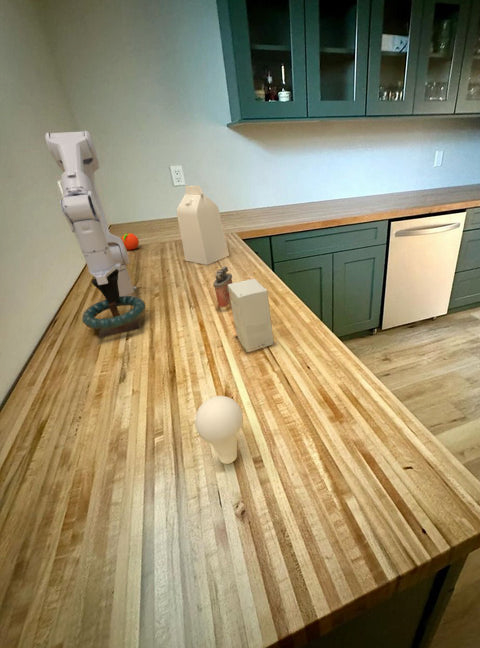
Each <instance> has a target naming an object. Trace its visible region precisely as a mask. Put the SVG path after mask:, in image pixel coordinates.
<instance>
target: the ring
mask: <svg viewBox="0 0 480 648" xmlns="http://www.w3.org/2000/svg"><path fill="white" fill-rule="evenodd" d="M108 304H109V302H108V301H107V300H106V299H104V300H101V301H98V302H96V303H95V304H93V305H91V306H88V308H87V309H86V310H84V312H83V314H82V318H81V321H82V323H83V324H84V325H85V326H86V327H87V328H89V329H93V330H94V329H95V330H100V329H111V328H115V327H120V326H123V325H125V324H128V323H130V322H132V321H134V320H136V319H137V318H139V319H140V317H141V316H142V315H143V314H144V312H145V311H146V303H145V301H144V300H143V299H141V298H140V297H138V296H132V295H129V296H119V303H117V304H116V306H117V308H118V307H122V306H123V307H124V306H131V307H132V309H130V310H128V311H127V312H124V313H122V314H120V315H119V316H116V317H113V316H112V317H107V318H106V317H105V318H96V317H97V316H98V315H99V314H101V313H103V312H104V311H107V310H110V308H109V306H108Z"/></svg>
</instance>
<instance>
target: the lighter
mask: <svg viewBox="0 0 480 648" xmlns="http://www.w3.org/2000/svg"><path fill="white" fill-rule="evenodd" d="M228 272H229V268H228V266H227V265H226V266H223V267H222V268H220V269H217V270H216V273H215V274H214V277H215V279H214V281H213V283H212V284H213V287H214V290H215V295H216V301H217V306H218V307H219V308H220V307H221V308H225V307H226V306H228V305H229V304H231V301H230V296H229V290H228V284H231V283H233V279H232V278H233V275H232V273H228Z"/></svg>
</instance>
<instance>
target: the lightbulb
mask: <svg viewBox="0 0 480 648" xmlns="http://www.w3.org/2000/svg"><path fill="white" fill-rule="evenodd" d="M243 424H244V414H243V410H242V408H241V406H240V404H239V403H238V402H237V401H235V399H233V398H231V397H229V396H226V395H214V396H212V397H209V398H208V399H206V400H204V401H203V403H201V405H199V407H198V409H197V410H196V413H195V417H194V426H195V427H194V428H195V430H196V433H197V434H198V435H199V437H200V438H201V439H202V440H203V441H205V442H206V443H208V444H210V445H211V446H212V448H213V450H214V453H216V454H217V456H218V458H219V461H220V463H222V464H223V465H224V464H225V465H228V464H231V463H233V462H235V460H236V459H237V457H238V449H237V447H238V435H240V434H239V433H240V431H241V429H242V427H243Z"/></svg>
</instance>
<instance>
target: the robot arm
mask: <svg viewBox="0 0 480 648" xmlns="http://www.w3.org/2000/svg"><path fill="white" fill-rule="evenodd" d="M44 137H45V143H46V145H47V148H48V150H49V152H50V155H51V157H52V158H53V160H54V161H55V162H56V165H57V166H58V168H60V171H62V172H63V173H62V174H61V176H60V181H61V189H62V195H63V199H60V200H59V204H60V208H61V211H62V215H63V216H64V218H65V220H66V221H67V223H68V225H69V227H70V229H71V232H72V233H74V235H75V238H76V240H77V243H78V245H79V248H80V250H81V253H82V255H83V258H84V260H85V263H86V266H87V270H88V274H90V275H91V276H92V277H93V278H92V279H91V284H92V285H93V286H94V287H95V288H96V289H98V291H99V292H101V294H102V295H103V296H104V298H105V300H107V301H108V302H109V303H111V302H115V303H116V304H117V303H119V296H132V294H134V293H135V289H137V286H133V283H132V279H131V277H130V273H129V271H128V268H127V266H129V265H130V258H129V254H128V251H127V249H126V248H125V246H124V243H123V240H121V238H122V237H119V236H117V235H115V234H113V233H111V232H110V229H109V226H108V225H109V224H108V222H107V219H106V216H105V212H104V209H103V205H102V202H101V199H100V195H99V192H98V189H97V185H96V181H95V172H97V171H98V170H99V169H100V165H99V164H100V162H99V158H98V154H97V150H96V146H95V144H94V141H93V137H92V135H91V133H90V132H89V131H88V130H83V131H67V132H65V131H64V132H46V133H45V135H44Z"/></svg>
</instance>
